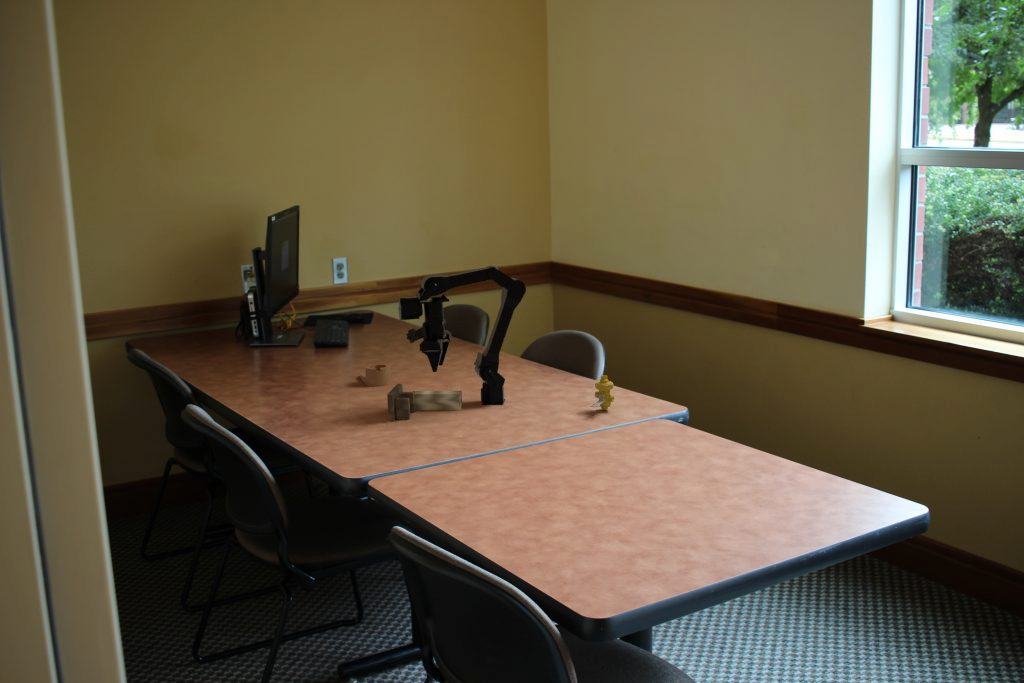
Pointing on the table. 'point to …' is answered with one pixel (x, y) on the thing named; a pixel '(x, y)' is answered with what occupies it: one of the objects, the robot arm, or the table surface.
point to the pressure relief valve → (603, 393)
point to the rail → (438, 400)
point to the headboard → (400, 404)
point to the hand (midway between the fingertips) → (437, 368)
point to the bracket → (377, 375)
